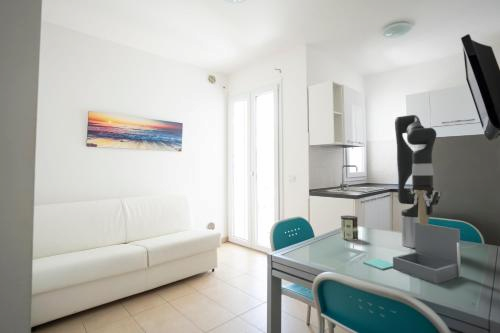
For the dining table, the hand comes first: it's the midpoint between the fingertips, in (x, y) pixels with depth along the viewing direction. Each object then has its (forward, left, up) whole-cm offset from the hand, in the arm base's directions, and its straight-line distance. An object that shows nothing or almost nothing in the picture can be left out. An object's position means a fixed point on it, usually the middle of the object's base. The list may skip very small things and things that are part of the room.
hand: (423, 214), depth 112 cm
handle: (0, 0, -5) cm, 5 cm away
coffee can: (-15, -56, -25) cm, 63 cm away
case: (0, 0, -25) cm, 25 cm away
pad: (+9, -15, -25) cm, 30 cm away
